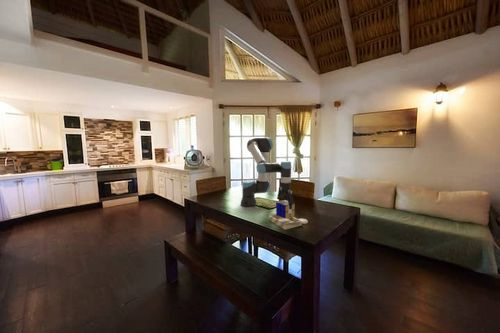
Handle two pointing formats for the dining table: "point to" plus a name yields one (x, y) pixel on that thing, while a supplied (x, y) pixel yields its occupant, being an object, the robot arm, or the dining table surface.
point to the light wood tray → (285, 221)
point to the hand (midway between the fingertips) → (285, 210)
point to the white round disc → (304, 221)
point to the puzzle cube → (284, 209)
